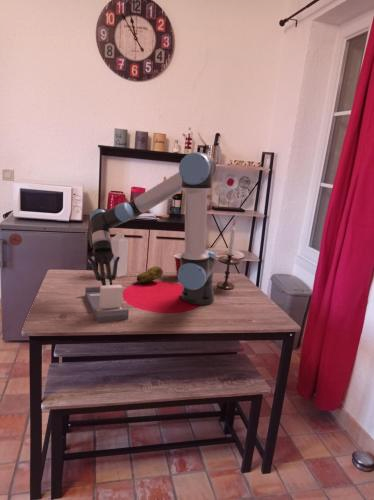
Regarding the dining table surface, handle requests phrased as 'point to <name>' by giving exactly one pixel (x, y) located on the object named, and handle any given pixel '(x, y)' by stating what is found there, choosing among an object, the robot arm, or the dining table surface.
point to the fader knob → (110, 297)
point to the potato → (150, 275)
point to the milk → (120, 254)
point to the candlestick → (228, 263)
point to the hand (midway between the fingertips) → (108, 296)
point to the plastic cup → (178, 262)
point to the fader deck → (99, 314)
